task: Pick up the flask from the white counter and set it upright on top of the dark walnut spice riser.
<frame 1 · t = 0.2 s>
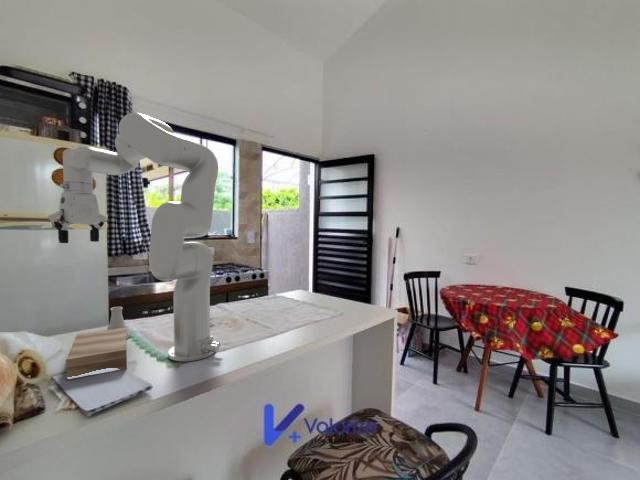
hand: (79, 242, 104), 30 cm above the table, tool pointing down, fingers open, 9 cm apart
walnut riser: (100, 359, 86), on the table
flask: (117, 339, 102), on the table
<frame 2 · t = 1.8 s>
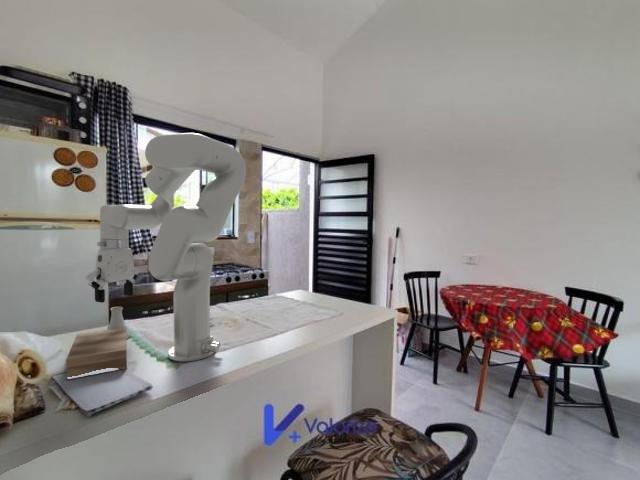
hand: (114, 298, 102), 13 cm above the table, tool pointing down, fingers open, 9 cm apart
nothing on the table moved.
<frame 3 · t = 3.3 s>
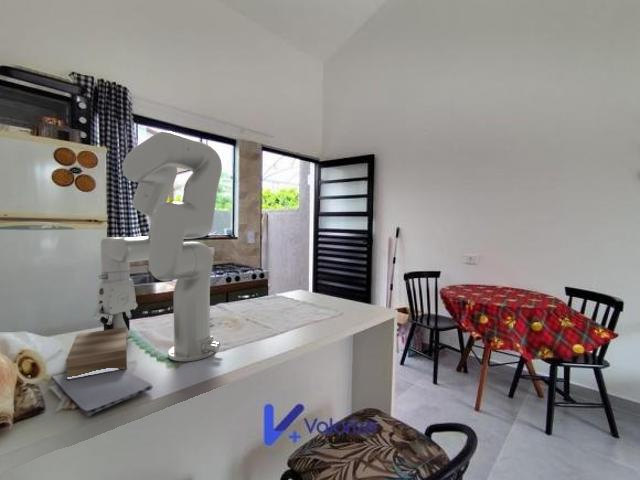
hand: (117, 332, 102), 2 cm above the table, tool pointing down, fingers closed on flask, 4 cm apart
flask: (117, 339, 102), on the table, touching gripper
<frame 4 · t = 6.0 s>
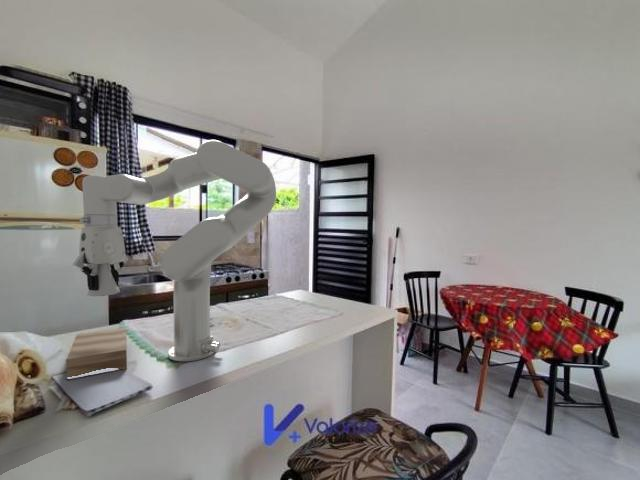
hand: (103, 287, 89), 19 cm above the table, tool pointing down, fingers closed on flask, 4 cm apart
flask: (104, 295, 89), point 17 cm above the table, touching gripper
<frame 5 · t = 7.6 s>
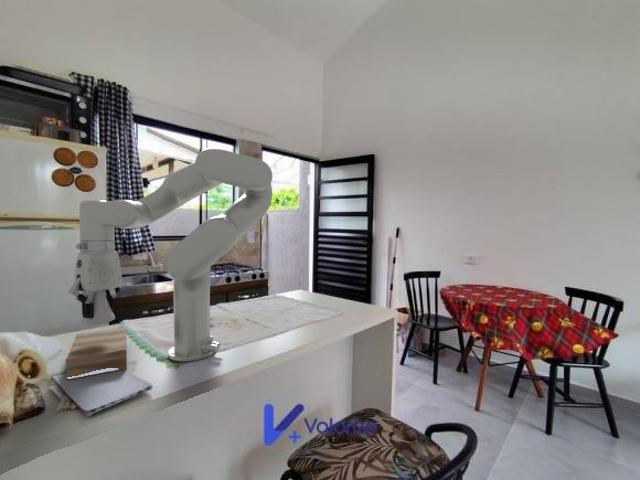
hand: (98, 314, 86), 12 cm above the table, tool pointing down, fingers closed on flask, 4 cm apart
flask: (98, 322, 86), point 10 cm above the table, touching gripper
when the fingers open (8 cm above the table, at t = 8.7 s): flask drops 1 cm, resting on walnut riser.
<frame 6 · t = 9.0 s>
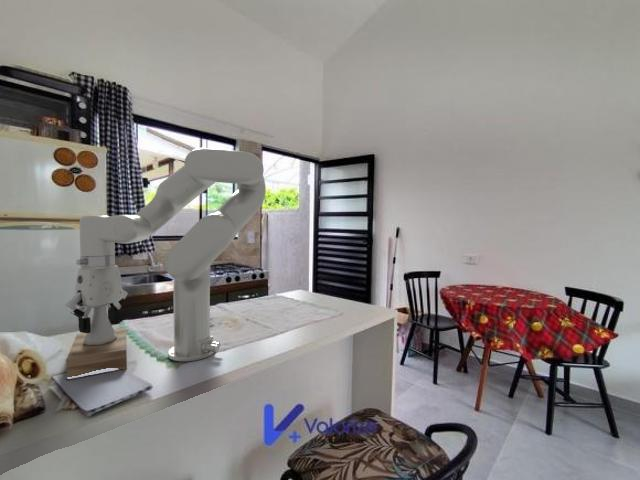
hand: (99, 327, 86), 9 cm above the table, tool pointing down, fingers open, 7 cm apart
flask: (100, 341, 86), point 5 cm above the table, touching walnut riser
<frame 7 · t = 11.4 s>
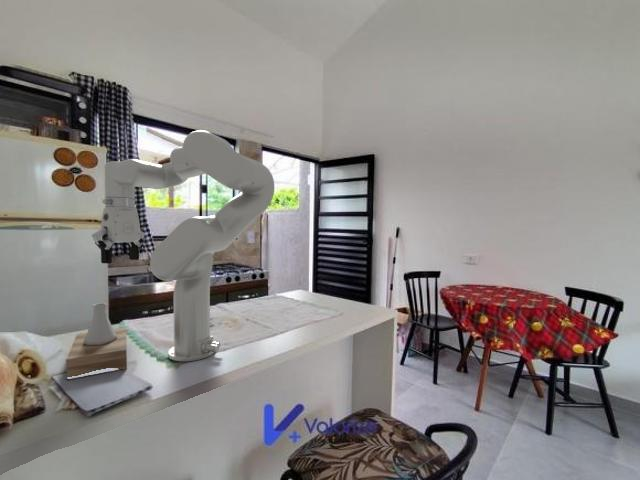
hand: (121, 261, 97), 25 cm above the table, tool pointing down, fingers open, 9 cm apart
nothing on the table moved.
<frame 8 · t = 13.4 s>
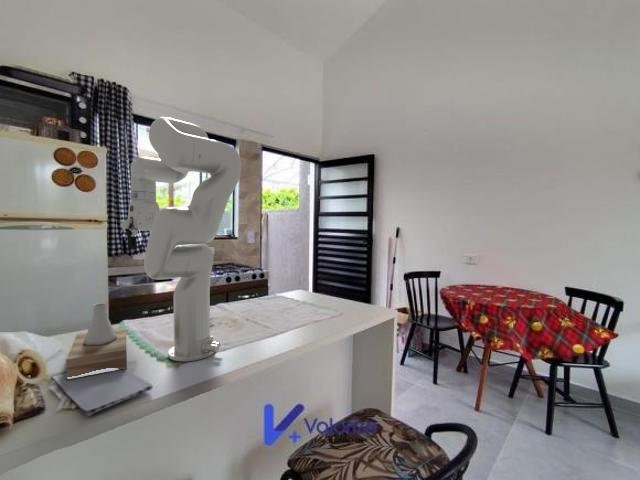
hand: (144, 247, 111), 28 cm above the table, tool pointing down, fingers open, 9 cm apart
nothing on the table moved.
at the end: flask 0.1 cm from the walnut riser (horizontally); flask point 4.8 cm above the table; flask tilted 0° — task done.
